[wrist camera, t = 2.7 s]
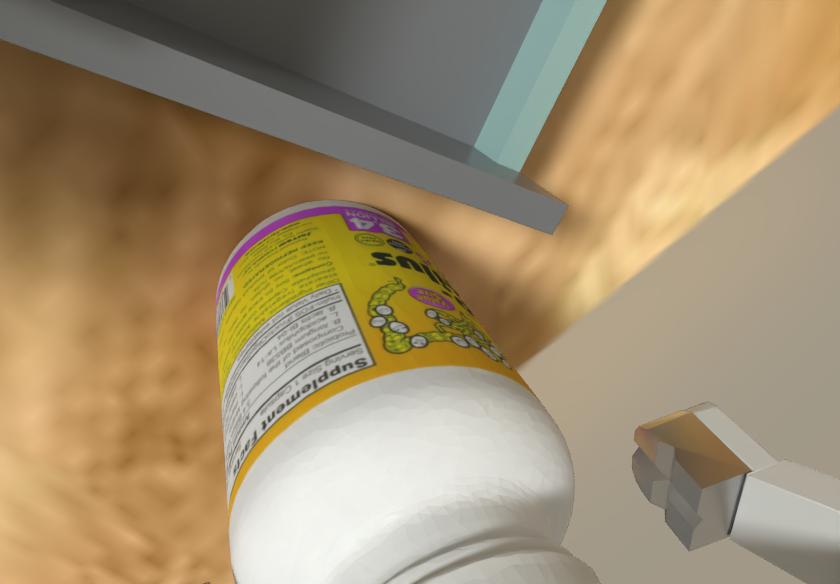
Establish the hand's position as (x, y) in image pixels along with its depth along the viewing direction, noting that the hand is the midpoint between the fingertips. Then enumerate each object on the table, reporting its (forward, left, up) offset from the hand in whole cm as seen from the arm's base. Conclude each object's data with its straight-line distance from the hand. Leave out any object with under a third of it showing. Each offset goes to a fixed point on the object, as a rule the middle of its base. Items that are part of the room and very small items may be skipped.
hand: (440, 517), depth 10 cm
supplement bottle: (-1, 0, -10) cm, 10 cm away
